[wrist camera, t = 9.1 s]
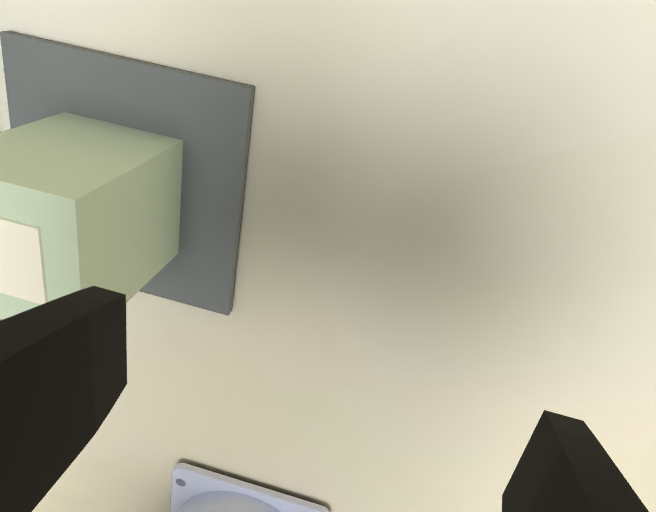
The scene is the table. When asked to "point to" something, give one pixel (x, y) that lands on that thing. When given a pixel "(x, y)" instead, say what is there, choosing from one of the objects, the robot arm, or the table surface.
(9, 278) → the pale green box
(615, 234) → the table surface
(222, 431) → the table surface
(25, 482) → the robot arm
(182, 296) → the mat
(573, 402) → the table surface
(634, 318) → the table surface
